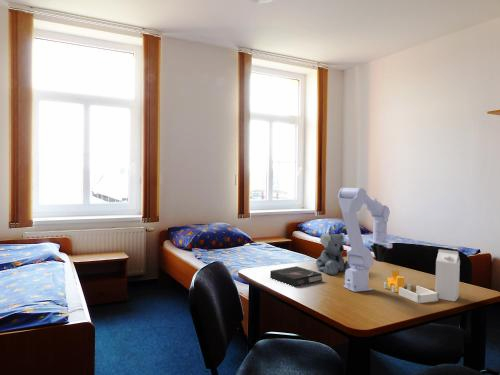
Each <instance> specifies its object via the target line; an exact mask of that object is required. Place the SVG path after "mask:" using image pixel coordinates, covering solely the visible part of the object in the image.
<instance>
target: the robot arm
mask: <svg viewBox="0 0 500 375" xmlns="http://www.w3.org/2000/svg"><path fill="white" fill-rule="evenodd" d="M337 201H338V203H339V208H340V210H341V215H342V218H343V221H344V226H345V230H346V234H347V237H348V240H349V245H350V247H349V248H348V249H347V250H346V261H348V264H349V265H350V267H351V268H349V269H347V270H346V271H345V272H344V285H343V288H345V289H347V290H350V291H352V292H366V291H373V289H374V288H372V287H370V286H369V276H370V275H369V273H370V269H371V268H372V267H373V265H374V263H375V262H379V263H381V262H382V263H383V262H384V258H385V256H386V253H387V251H388V250H389V249H393V243H391V242H389V241H388V240H387V232H388V231H387V228H388V227H387V226H388V222H389V218H390V217H389V216H390V213H391V212H390V208H389V206H387V205H385V204H384V205H383V204H382V202H380V201H378V199H377V198H376V197H370V196H369V195H368V194H367V190H366V189H364V187H345V186H343V187H341V188H340V189H339V191H338V194H337ZM363 205H364V207H365V209H366V210H368V211H369V213H370V215H371V217H373V224H372V225H373V231H372V238H367V244H371V245H370V248H371V249H372V250H370V248H368V247H367V246H366V245H364V241H363V237H362V233H361V228H360V224H359V221H358V217H357V212H359V211H361V210H362V207H363ZM371 251H373V253H371Z"/></svg>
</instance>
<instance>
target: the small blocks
mask: <svg viewBox="0 0 500 375" xmlns="http://www.w3.org/2000/svg"><path fill="white" fill-rule="evenodd" d="M383 289H388V284H387V282H386V281H384V282H383Z"/></svg>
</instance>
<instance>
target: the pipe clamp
mask: <svg viewBox="0 0 500 375" xmlns="http://www.w3.org/2000/svg"><path fill="white" fill-rule="evenodd" d="M386 283H387V287H389V289H391V290H392V285H394V286H395V292H396V293H398V294H399V287H401V288H404V289H405V277H404V276H400V271H399V270H391V277H387V282H386Z"/></svg>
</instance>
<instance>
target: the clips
mask: <svg viewBox="0 0 500 375" xmlns="http://www.w3.org/2000/svg"><path fill="white" fill-rule="evenodd" d="M406 287H407V288H406V290H409V291H412V284H410V283H407V285H406ZM395 292H396V290H395V286H394V285H392V289H391V293H395Z"/></svg>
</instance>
